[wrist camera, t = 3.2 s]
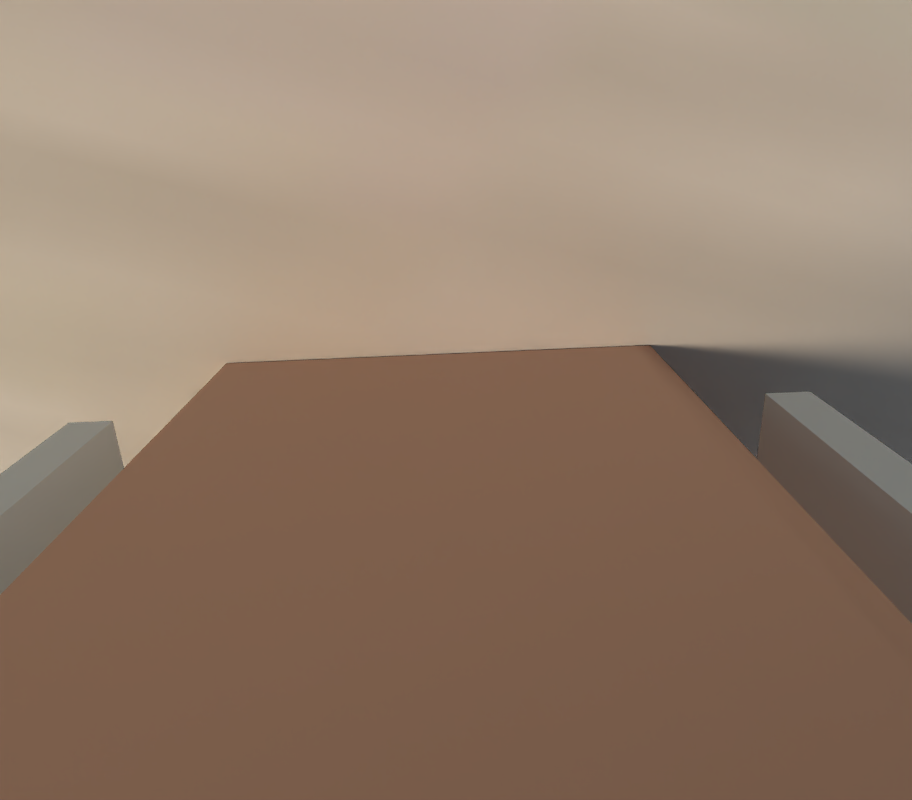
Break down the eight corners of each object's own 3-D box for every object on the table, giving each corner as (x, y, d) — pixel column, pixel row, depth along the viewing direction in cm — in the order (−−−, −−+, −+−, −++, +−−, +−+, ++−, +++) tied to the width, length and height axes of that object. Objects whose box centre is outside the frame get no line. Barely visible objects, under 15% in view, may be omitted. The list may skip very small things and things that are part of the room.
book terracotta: (226, 363, 13) (-345, 949, 4) (649, 345, 13) (1168, 896, 4) (253, 523, 14) (-119, 1261, 5) (639, 507, 14) (1002, 1225, 5)
